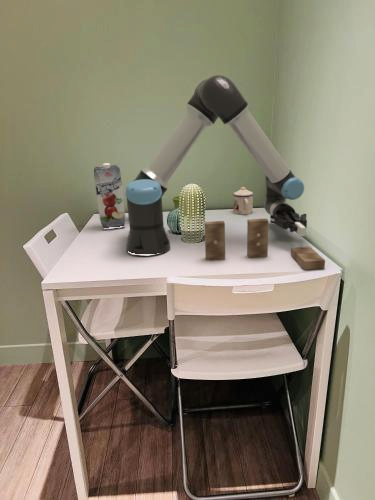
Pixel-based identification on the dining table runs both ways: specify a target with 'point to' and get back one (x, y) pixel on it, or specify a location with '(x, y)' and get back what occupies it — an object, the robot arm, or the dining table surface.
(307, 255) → the tile
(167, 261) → the dining table surface
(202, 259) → the dining table surface
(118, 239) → the dining table surface
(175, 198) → the plant pot
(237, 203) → the teacup with lid
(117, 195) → the juice carton
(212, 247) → the tile
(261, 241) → the tile
